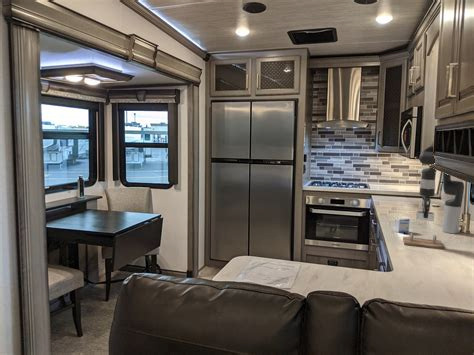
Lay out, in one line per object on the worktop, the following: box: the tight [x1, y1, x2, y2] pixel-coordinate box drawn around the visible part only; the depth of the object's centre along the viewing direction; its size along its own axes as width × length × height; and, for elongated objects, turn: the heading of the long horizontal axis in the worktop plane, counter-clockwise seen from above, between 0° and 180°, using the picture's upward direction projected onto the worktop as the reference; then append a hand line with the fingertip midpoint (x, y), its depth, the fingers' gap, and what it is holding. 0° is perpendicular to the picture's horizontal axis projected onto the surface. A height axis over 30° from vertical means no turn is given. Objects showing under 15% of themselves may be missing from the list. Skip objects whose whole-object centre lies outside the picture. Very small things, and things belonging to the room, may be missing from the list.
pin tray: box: [402, 232, 445, 250], centre depth 214 cm, size 14×20×5 cm
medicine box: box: [393, 217, 411, 234], centre depth 240 cm, size 8×4×9 cm, turn 105°
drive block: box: [415, 210, 435, 222], centre depth 212 cm, size 5×9×4 cm, turn 63°
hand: (424, 216), depth 213 cm, fingers closed on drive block, 5 cm apart
